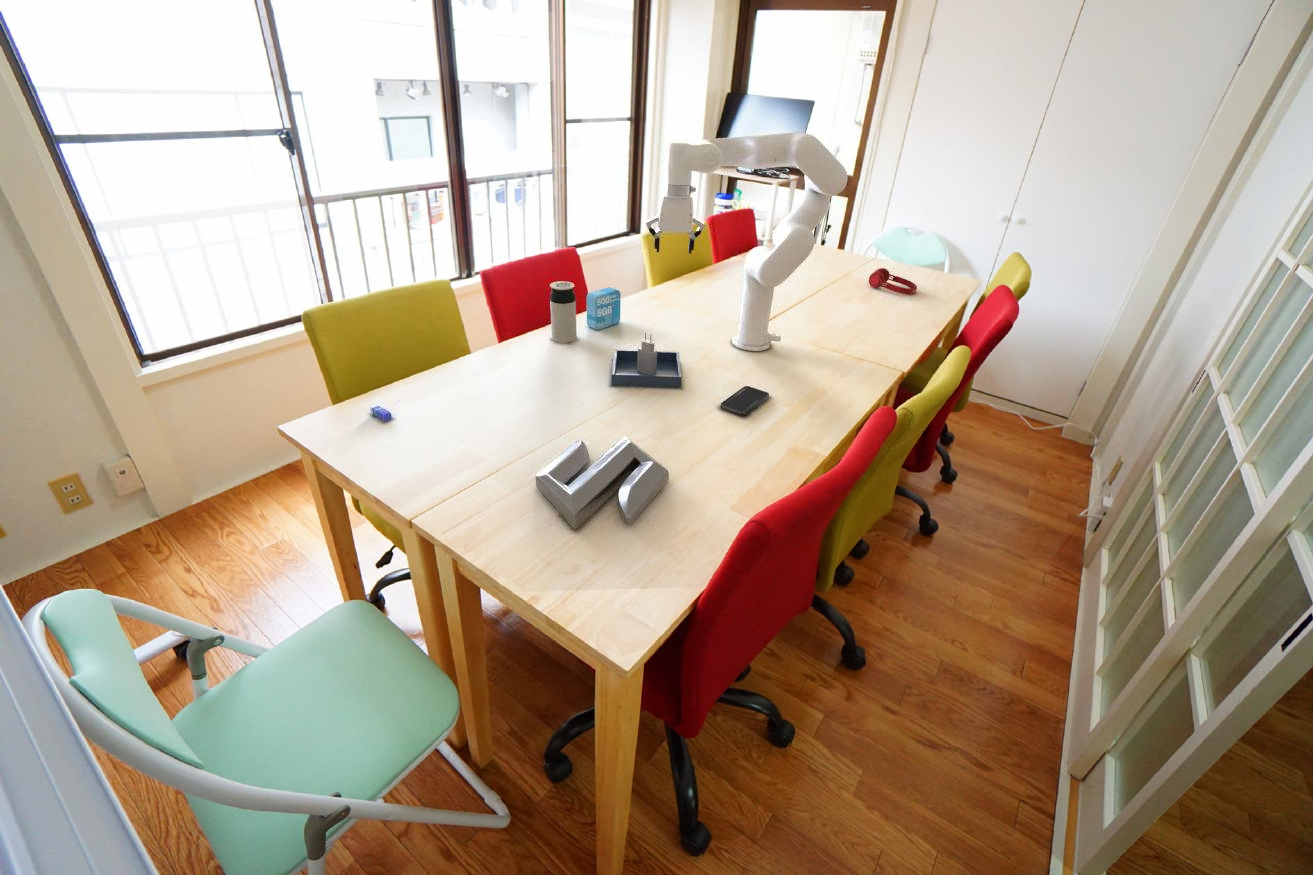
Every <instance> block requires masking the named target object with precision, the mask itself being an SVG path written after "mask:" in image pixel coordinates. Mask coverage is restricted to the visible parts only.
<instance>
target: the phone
mask: <svg viewBox="0 0 1313 875" xmlns="http://www.w3.org/2000/svg"><path fill="white" fill-rule="evenodd" d="M769 398H770V393H769V392H768V391H764V390H761V389H758V388H756V387H753V386H749V385H745V386H743V387H741V388H740V389H739V390H737V391H736V392H734V393H733V394H732V395H730V396H728V397H727V398H726V399H724V400H723V401H722V402H720V409H721V410H723V411H726V412H728V413H731V414H734V415H737V416H739V417H748V415H750V414H751V413H752V412H753V411H754V410H756V409H757V408H758V407H760V406H761V405H762V404H763V403H764V402H766V401H768V399H769Z"/></svg>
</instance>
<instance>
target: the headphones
mask: <svg viewBox="0 0 1313 875" xmlns="http://www.w3.org/2000/svg"><path fill="white" fill-rule="evenodd" d="M888 281H890V282H888ZM891 282H893V283H897V284H900V285H903V286H905V287H902V286H899V285H895V284H893V283H891ZM868 284H869V286H871V287H872V288H874V289H879V288H884V289H886V290H889V291H892V292H895V293H898V294H902V295H914V294H915V293H916V291H917V289H918V286H917V284H916V283H914V282H913V281H911V280H909V279H907V278H903V277H901V276H898V275H894V274H891V273H890V271H889V270H888V269H887V268H885V267H880V268H877V269H875V271H874V272H872V273H870V275H869V277H868Z"/></svg>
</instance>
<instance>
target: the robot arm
mask: <svg viewBox="0 0 1313 875" xmlns="http://www.w3.org/2000/svg"><path fill="white" fill-rule="evenodd" d="M665 148H666V149H665V165H664V188H663V190H664V191H663V193H662V194H660V199H659V205H658V215H656V216H654V217H652V218H650V219H648V220H646V221H645V225H646V228H647V229H648V232H649V233H650V234H651V235H652V236H653V238H654V246H653V248H654V249H655V250H656V253H659V252H660V244H661V243H660V240H661V238H660V236H661V235H662V234H663V233H669V234H670V233H673V234H688V236H689V238H688V248H687V250H688V251H687V252H688V254H689V255H692V251H695V240H696V239H697V238H698V237H699V236H700V235H701V234H702V232H703V230H704V229H705V227H706V224H705V223H704V222H703V221H702V220H699V219H698V218H696V217H695V216H694V196H693V195H691V194H692V193H697V187H696V186H693V185H692V176H693V172H698V173H701V174H702V173H703V174H712V173H714V172H716V171H718V170H719V169H720V168H721V167H736V168H742V169H747V170H762V169H771V168H785V167H795V168H798V169H799V170H800V171H801V172H802V174H803V175H804V191H803V192H804V193H803V196H802V198H801V199H800V201H799V202H798V204H797V205H796V206H795V207H794V208H793V209H792V211H791V212H790V213H788V215H787V216H786V217H785V218H784V219H783V220H782V221H781V222H780V223H779V224H778V225H777V226H776V228H775V229H774V230H773V233H772V237H771V238H772V239H771V240H772V242H773V243H772V244H773V245H774V246H775V247H774V249H771V248H770V247H768V246H765V245H760V246H756V247H753V248H752V249H751V250H750V251H749V252H748V254H747V255H746V257H745V261H744V274H743V275H744V279H743V280H744V281H743V291H742V292H743V293H742V297H741V298H742V299H741V306H740V315H739V320H738V321H739V322H738V329H737V335H734V336H733V337H732V340H731V343H732V345H733V346H734V347H736V348H738V349H741V350H744V351H749V352H762V351H765V350H768V349H769V348H770V347H771V343H772V342H781V341H782V336H781V335H777V334H776V333H769V325H770V324H769V323H770V318H771V311H772V306H773V299H774V291H775V287H778V286H780V285H781V284H783V283H784V282H785V281H786V280H787V279H788V278H790V276H791V275H792V274H793V273H794V272H795V271H796V270H797V269H798V268H799V267H800V266H802V264H803V263H804V262H805V261H806V260H807V258H809V256H810V255H811V253H812V252H813V249H814V247H815V240H816V239H815V235H814V233H813V231H814V229H815V228H817V226H818V225H819V224H820V223H821V221H822V220H823V219H824V217H825V216H826V215H827V212H828V210H829V208H830V205H831V200H832V199H831V198H832V197H834V196H837V195H839V194H841V193H842V192H843V191H844V190H845V188H846V187H847V183H848V172H847V170H846V168H845V166H844V165H843V164H842V163H841V162H840V161H839V159H837V157H835V155H833V153H832V152H831V151H830V150H829V149H828V148H827V146H825V145H824V144H823V143H822V142H821V141H820V140H819V139H818V138H817V137H816V136H814V135H812V134H809V133H804V132H799V131H798V132H795V131H794V132H783V133H770V134H758V135H745V136H735V137H734V136H733V137H717V138H706V139H699V140H697V141H695V142H694V143H690V142H687V141H678V140H677V141H669V142H668V143H667V144H666V147H665ZM655 223H657V229H656V230H655V229H654V228H653V226H652V225H653V224H655ZM694 224H695V225H697V226H698V228H697V229H696V230H695V231H693V228H694Z"/></svg>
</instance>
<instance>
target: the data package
mask: <svg viewBox="0 0 1313 875" xmlns="http://www.w3.org/2000/svg"><path fill="white" fill-rule="evenodd" d="M620 321H621V291H620V290H618V289H616V288H613V287H610V286H609V287H604V288H602V289H597V290H594V291H591V292H588V293H587V294H586V325H587V326H588V327H589V328H592V329H594V330H596V331H598V330H599V331H600V330H602V329H605V328H608V327H612V326H614V325H617V324H619V323H620Z"/></svg>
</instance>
